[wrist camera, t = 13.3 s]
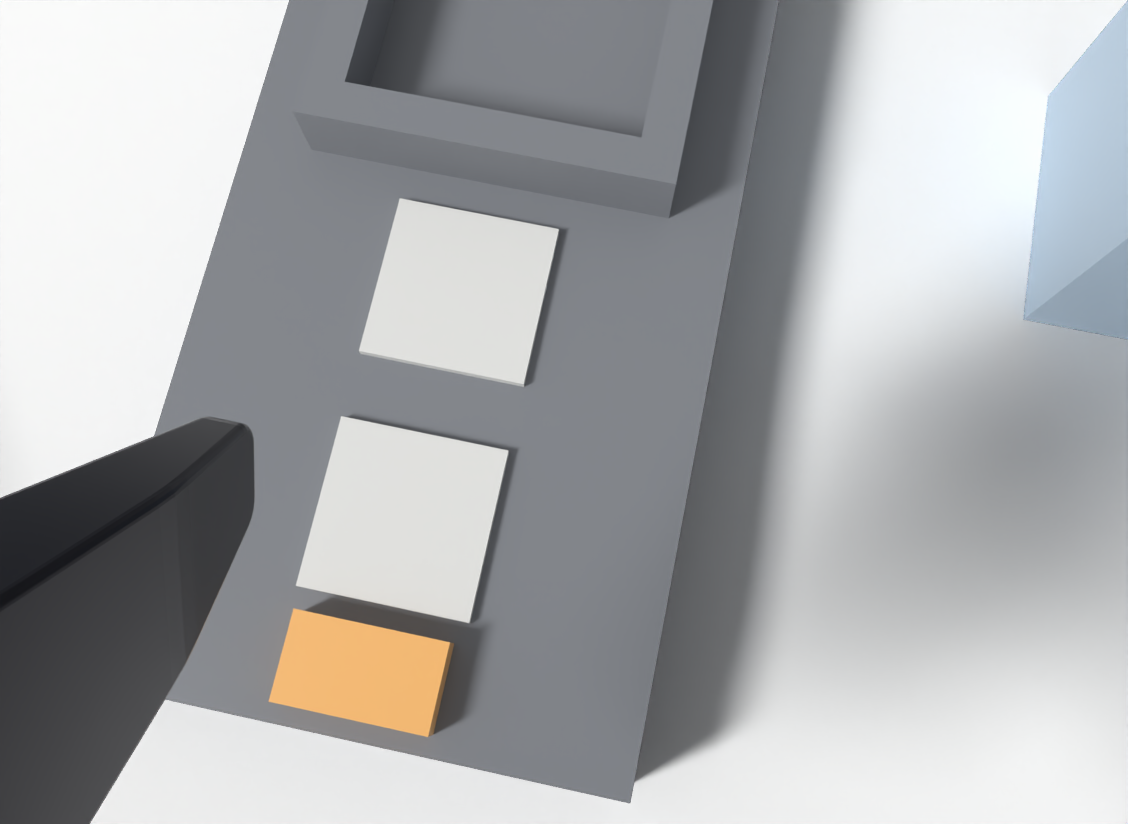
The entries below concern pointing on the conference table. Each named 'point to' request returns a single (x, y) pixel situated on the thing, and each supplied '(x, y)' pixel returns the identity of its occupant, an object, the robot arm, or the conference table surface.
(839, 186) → the conference table surface
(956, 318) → the conference table surface
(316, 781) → the conference table surface
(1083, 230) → the pale blue block
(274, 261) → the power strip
